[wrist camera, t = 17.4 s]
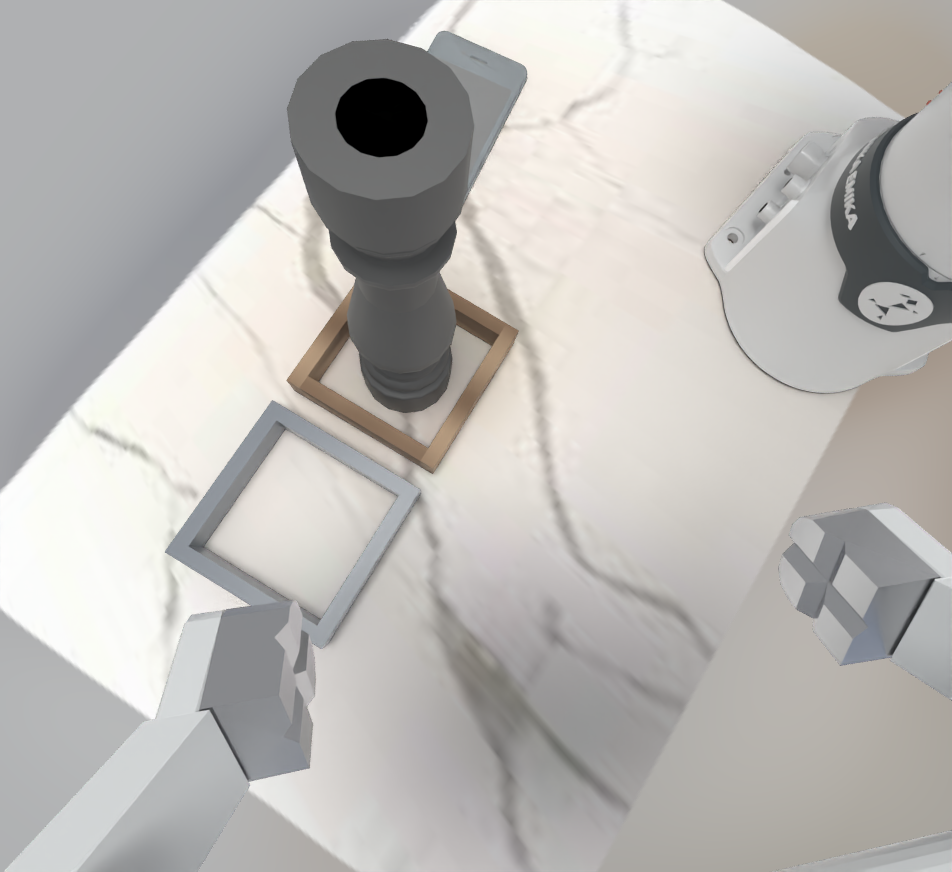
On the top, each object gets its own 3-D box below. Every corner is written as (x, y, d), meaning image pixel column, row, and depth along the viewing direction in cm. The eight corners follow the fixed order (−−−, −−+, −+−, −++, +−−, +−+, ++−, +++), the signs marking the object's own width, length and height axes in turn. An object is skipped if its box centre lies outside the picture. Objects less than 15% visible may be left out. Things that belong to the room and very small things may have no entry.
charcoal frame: (281, 409, 41) (272, 400, 39) (420, 493, 41) (420, 489, 38) (181, 552, 39) (164, 551, 36) (328, 643, 38) (321, 649, 36)
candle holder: (345, 367, 42) (234, 103, 18) (410, 314, 43) (390, -2, 19) (403, 430, 41) (371, 247, 17) (467, 374, 43) (523, 129, 18)
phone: (352, 192, 45) (350, 181, 44) (439, 39, 49) (439, 26, 48) (448, 235, 45) (449, 226, 44) (528, 79, 49) (531, 66, 48)
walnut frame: (382, 266, 44) (379, 248, 41) (513, 343, 43) (518, 330, 41) (294, 390, 41) (286, 380, 39) (433, 474, 41) (433, 468, 38)
